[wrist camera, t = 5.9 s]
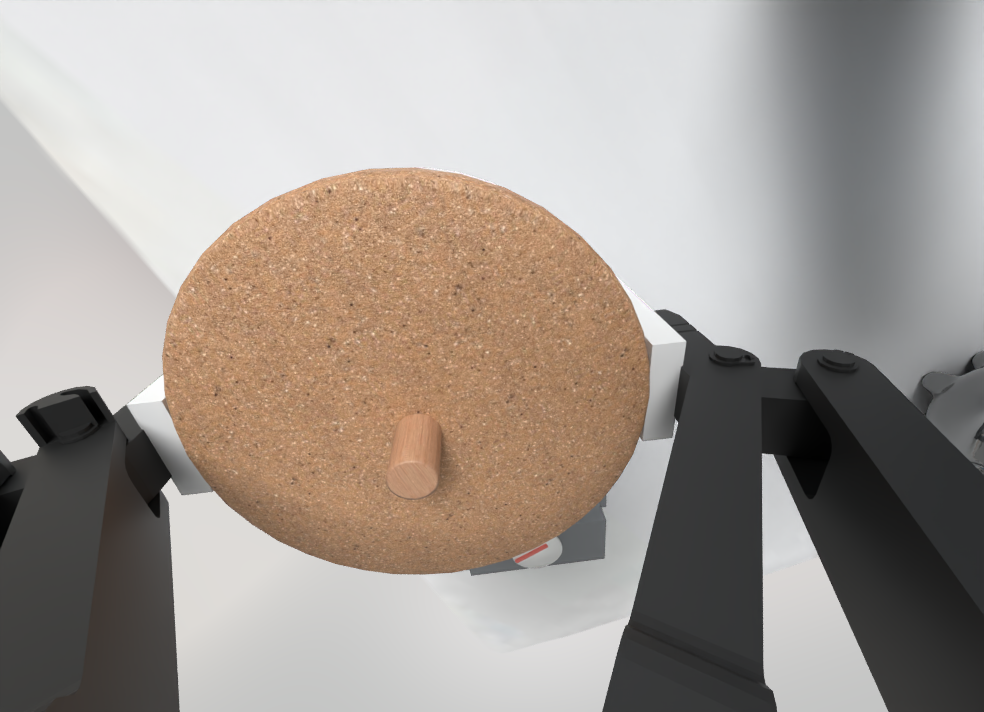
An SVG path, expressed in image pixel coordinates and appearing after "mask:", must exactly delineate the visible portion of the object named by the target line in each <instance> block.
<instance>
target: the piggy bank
mask: <svg viewBox="0 0 984 712" xmlns="http://www.w3.org/2000/svg"><path fill="white" fill-rule="evenodd" d="M972 365H973V367H974V368H975V370H973V371H970V372H968V373H966V374H964V375H961V376H955V375H951V374H947V373H942V372H931V373H929V374H927V375H926V376H925V377H924V378H923V379H922V385H923V387H924V388H926V389H927V390H928V391H930V392H931V393H932V395H933V399H932V401H931V403H930V405H929V407H928V409H927V413H926V415H925V417H926V418H927V419H928V420H929V421H930V422H931V423H932V424H933V425H934V426H935V427H936V428H937V429H938V430H939V431H940V432H941V433H942V434H943V435H944V436H945V437H946V438H947V439H948V440H949V441H950V442H951V443H952V444H953V445H954V446H955V447H956V448H957V449H958V450H959V451H960V452H961V453H962V454H963V455H964V456H965V457H966V458H967V459H968V460H969V461H970V462H971V463H972V464H973V465H974V466H975V467H976V468H977V469H978V470H979V471H980V472H981V473H982V474H983V475H984V351H981V352H979V353H977V354H976V355H975V356H974V357H973V359H972Z"/></svg>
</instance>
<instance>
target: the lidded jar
mask: <svg viewBox="0 0 984 712" xmlns="http://www.w3.org/2000/svg"><path fill="white" fill-rule="evenodd" d="M162 360H163V376H164V391H165V397H166V400H167V404H168V407H169V411H170V414H171V418H172V421H173V424H174V427H175V430H176V432H177V434H178V436H179V438H180V441H181V443H182V445H183V447H184V449H185V452H186V454H187V456H188V457H189V459H190V460H191V462H192V463H193V464H194V466H195V467H196V468H197V470H198V471H199V473H200V474H201V475H202V477H203V478H204V480H205V481H206V482H207V483H208V484H209V485H210V487H211V488H212V489H213V490H214V491H215V492H216V493H217V494H218V495H219V496H220V497H221V498H222V500H223V501H224V502H225V503H226V504H227V505H228V506H229V507H231V508H232V509H233V510H235V511H236V512H237V513H238V514H240V515H241V516H242V517H244V518H245V519H246V520H247V521H249V522H250V523H251V524H252V525H254V526H256V527H257V528H259V529H260V530H262V531H264V532H265V533H267V534H269V535H270V536H271V537H273V538H275V539H276V540H278V541H280V542H282V543H284V544H287V545H288V546H291V547H293V548H295V549H298V550H300V551H302V552H304V553H306V554H309V555H312V556H315V557H317V558H320V559H323V560H326V561H329V562H332V563H335V564H339V565H343V566H348V567H353V568H358V569H362V570H368V571H375V572H383V573H390V574H437V573H452V572H458V571H463V570H468V569H474V568H479V567H483V566H487V565H490V564H494V563H497V562H501V561H505V560H508V559H511V558H513V557H515V556H518V555H520V554H523V553H525V552H527V551H530V550H532V549H534V548H536V547H538V546H540V545H542V544H544V543H546V542H547V541H549V540H551V539H553V538H555V537H557V536H559V535H560V534H561V533H563V532H564V531H565V530H567V529H568V528H570V527H571V526H572V525H574V524H575V523H576V522H578V521H579V520H580V519H582V518H583V517H584V516H585V515H586V514H587V513H588V512H589V511H590V510H591V509H592V508H594V507H595V506H596V505H597V504H598V503H599V502H600V501H601V500H602V499H603V498H604V496H605V495H606V494H607V493H608V491H609V490H610V489H611V487H612V486H613V485H614V484H615V482H616V481H617V480H618V478H619V477H620V475H621V473H622V472H623V470H624V468H625V467H626V465H627V463H628V462H629V460H630V458H631V457H632V455H633V453H634V450H635V447H636V445H637V442H638V439H639V437H640V434H641V431H642V429H643V426H644V423H645V417H646V412H647V407H648V401H649V396H650V363H649V358H648V352H647V347H646V342H645V336H644V332H643V329H642V327H641V324H640V322H639V319H638V317H637V314H636V312H635V309H634V307H633V304H632V301H631V299H630V298H629V296H628V295H627V293H626V291H625V290H624V288H623V287H622V285H621V284H620V282H619V280H618V279H617V277H616V276H615V274H614V272H613V271H612V269H611V268H610V267H609V266H608V265H607V264H606V263H605V261H604V260H603V259H602V258H601V257H600V256H599V255H598V254H597V253H596V252H595V251H594V250H593V249H592V248H591V246H590V245H589V244H588V243H587V242H586V241H585V240H584V239H583V238H582V237H581V236H580V235H579V234H578V233H576V232H575V231H574V230H572V229H571V228H570V227H568V226H567V225H566V224H564V223H563V222H562V221H561V220H559V219H558V218H557V217H555V216H554V215H553V214H551V213H550V212H549V211H547V210H546V209H545V208H543V207H541V206H539V205H538V204H536V203H534V202H532V201H530V200H528V199H526V198H524V197H522V196H520V195H518V194H516V193H514V192H512V191H510V190H508V189H506V188H504V187H501V186H499V185H497V184H495V183H492V182H489V181H486V180H483V179H480V178H477V177H473V176H470V175H467V174H464V173H461V172H455V171H448V170H441V169H434V168H426V167H414V168H385V169H367V170H362V171H357V172H352V173H347V174H342V175H338V176H333V177H328V178H323V179H320V180H317V181H315V182H312V183H310V184H307V185H305V186H302V187H300V188H297V189H295V190H292V191H290V192H288V193H285V194H283V195H280V196H278V197H275V198H273V199H271V200H269V201H268V202H266V203H265V204H263V205H261V206H260V207H258V208H257V209H255V210H254V211H252V212H251V213H249V214H247V215H246V216H244V217H243V218H241V219H240V220H238V221H237V222H235V223H234V224H232V225H231V226H230V227H229V228H228V229H227V230H226V231H225V232H224V233H223V234H222V235H221V236H220V237H219V238H218V239H217V240H216V241H215V242H214V243H213V244H212V245H211V246H210V247H209V248H208V249H207V250H206V251H205V252H204V253H203V254H202V255H201V257H200V258H199V260H198V261H197V263H196V264H195V266H194V267H193V269H192V270H191V272H190V273H189V275H188V276H187V278H186V279H185V281H184V282H183V284H182V286H181V287H180V290H179V293H178V295H177V298H176V301H175V303H174V306H173V308H172V311H171V314H170V316H169V319H168V321H167V328H166V335H165V342H164V349H163V355H162Z"/></svg>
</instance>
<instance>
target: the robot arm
mask: <svg viewBox="0 0 984 712" xmlns="http://www.w3.org/2000/svg"><path fill="white" fill-rule="evenodd" d="M615 276H616V275H615ZM616 277H617V276H616ZM617 279H618V280H619V282H620V284H621V285H622V287H623V288H624V290H625V291H626V293H627V295H628V296H629V298H630V299H631V301H632V304H633V307H634V309H635V312H636V314H637V317H638V319H639V322H640V324H641V327H642V329H643V332H644V336H645V342H646V347H647V352H648V358H649V363H650V396H649V401H648V407H647V412H646V417H645V423H644V426H643V429H642V431H641V434H640V437H641V439H642V441H648V440H657V439H666V438H672V437H673V430H674V423H675V419H676V420H677V421H678V427H677V431H676V435H675V439H674V443H673V447H672V451H671V455H670V459H669V464H668V468H667V472H666V476H665V480H664V484H663V488H662V492H661V496H660V500H659V504H658V508H657V512H656V516H655V520H654V524H653V528H652V532H651V536H650V540H649V544H648V548H647V552H646V557H645V561H644V565H643V569H642V573H641V577H640V581H639V585H638V589H637V593H636V597H635V601H634V605H633V609H632V613H631V617H630V620H629V623H628V625H626V626H625V629H624V632H623V635H622V638H621V641H620V645H619V649H618V652H617V656H616V660H615V664H614V668H613V672H612V676H611V680H610V684H609V688H608V691H607V696H606V699H605V703H604V707H603V711H602V712H777V707H776V702H775V698H774V694H773V691H772V690H771V689H770V688H769V687H768V686H766V684H765V679H764V670H763V566H762V453H765V454H774V457H775V459H776V461H777V464H778V466H779V468H780V470H781V473H782V475H783V477H784V479H785V481H786V484H787V486H788V488H789V490H790V493H791V495H792V497H793V499H794V502H795V504H796V506H797V508H798V511H799V513H800V515H801V517H802V519H803V522H804V524H805V526H806V528H807V531H808V533H809V535H810V537H811V540H812V542H813V544H814V546H815V548H816V551H817V553H818V555H819V557H820V559H821V562H822V564H823V566H824V569H825V571H826V573H827V575H828V577H829V580H830V582H831V584H832V586H833V589H834V591H835V593H836V595H837V598H838V600H839V602H840V604H841V607H842V609H843V611H844V613H845V615H846V618H847V620H848V622H849V624H850V627H851V629H852V631H853V633H854V636H855V638H856V640H857V642H858V644H859V647H860V649H861V651H862V653H863V656H864V658H865V660H866V662H867V665H868V667H869V669H870V671H871V673H872V676H873V678H874V680H875V682H876V685H877V687H878V689H879V691H880V693H881V696H882V698H883V700H884V702H885V705H886V707H887V709H888V711H889V712H984V475H983V474H982V473H981V472H980V471H979V470H978V469H977V468H976V467H975V466H974V465H973V464H972V463H971V462H970V461H969V460H968V459H967V458H966V457H965V456H964V455H963V454H962V453H961V452H960V451H959V450H958V449H957V448H956V447H955V446H954V445H953V444H952V443H951V442H950V441H949V440H948V439H947V438H946V437H945V436H944V435H943V434H942V433H941V432H940V431H939V430H938V429H937V428H936V427H935V426H934V425H933V424H932V423H931V422H930V421H929V420H928V419H927V418H926V417H925V416H924V415H923V414H922V413H921V412H920V411H919V410H918V409H917V408H916V407H915V406H914V405H913V404H912V403H911V402H910V401H909V400H908V399H907V398H906V397H905V396H904V395H903V394H902V393H901V392H900V391H899V390H898V389H897V388H896V387H895V386H894V385H893V384H892V383H891V382H890V381H889V380H888V379H887V378H886V377H885V376H884V375H883V374H882V373H881V372H880V371H879V370H878V369H877V368H876V367H875V366H874V365H873V364H871V363H870V362H868V361H867V360H865V359H863V358H860V357H858V356H855V355H854V354H852V353H849V352H843V351H840V350H811V351H808V352H805V353H803V354H802V355H801V356H800V358H799V362H798V365H797V369H785V368H768V367H761V363H760V361H759V358H757V357H756V356H755V355H753V354H752V353H750V352H748V351H745V350H743V349H740V348H735V347H730V346H716V345H714V344H713V343H712V342H711V341H710V340H708V339H707V338H706V337H705V336H704V335H703V334H701V333H700V332H699V331H696V329H695V328H694V327H693V326H692V325H689V323H688V322H687V321H686V320H685V319H684V318H682V317H681V316H680V315H678V314H675V313H673V312H670V311H668V310H656V311H653V310H652V309H651V308H650V307H649V306H648V305H647V304H646V303H645V302H644V301H643V300H642V299H641V298H640V297H639V296H637V295H636V294H635V293H634V292H633V291H632V290H631V289H630V288H629V287H628V286H627V285H626V284H625V283H624V282H623V281H621V280H620V279H619V278H618V277H617ZM16 417H17V419H18V420H19V421H20V422H21V424H22V425H23V426H24V428H25V429H26V430H27V431H28V433H29V434H30V435H31V437H32V438H33V439H34V440H35V442H36V443H37V444H38V446H39V447H40V448H39V450H38V453H37V455H35V456H31V457H28V458H24V459H20V460H17V461H13V462H10V461H9V460H8V459H7V458H6V456H5V455H4V454H3V453H2V452H1V450H0V712H180V710H179V691H178V673H177V653H176V635H175V616H174V597H173V578H172V560H171V542H170V523H169V504H168V501H167V499H166V497H165V496H164V494H163V493H162V491H161V489H162V487H163V486H164V485H165V484H166V483H167V482H168V480H169V479H170V478H172V480H173V482H174V483H175V485H176V486H177V488H178V490H179V491H180V493H181V495H189V494H197V493H206V492H213V491H214V490H213V489H212V488H211V487H210V485H209V484H208V483H207V482H206V481H205V480H204V478H203V477H202V475H201V474H200V473H199V471H198V470H197V468H196V467H195V466H194V464H193V463H192V462H191V460H190V459H189V457H188V456H187V454H186V452H185V449H184V447H183V445H182V443H181V441H180V438H179V436H178V434H177V432H176V430H175V427H174V424H173V421H172V418H171V414H170V411H169V407H168V404H167V400H166V397H165V391H164V376H163V375H161V376H160V377H159V378H158V379H156V380H155V381H154V382H153V383H152V384H150V386H148V387H147V388H146V389H144V390H143V391H142V392H141V393H140V394H139V395H138V396H136V397H135V398H133V399H132V400H131V401H130V402H129V403H127V404H126V405H125V406H124V407H123V408H121V409H120V410H119V411H118V412H117V413H115V414H114V415H112V413H111V412H110V410H109V409H108V407H107V406H106V404H105V403H104V401H103V400H102V398H101V396H100V395H99V393H98V392H97V390H96V389H95V387H90V386H85V387H75V388H71V389H67V390H63V391H60V392H57V393H54V394H51V395H49V396H46V397H44V398H42V399H40V400H37V401H35V402H33V403H31V404H30V405H28V406H27V407H25V408H24V409H22V410H21V411H20V412H19V413H18V414H17V415H16Z"/></svg>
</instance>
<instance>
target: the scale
mask: <svg viewBox="0 0 984 712" xmlns="http://www.w3.org/2000/svg"><path fill="white" fill-rule="evenodd" d="M601 507H606V495H605V496H604V498H603V499H602V500H601V501H600V502H599V503H598V504H597V505H596V506H595V507H594V508H592V509H591V510H590V511H589V512H588V513H587V514H586V515H585V516H584V517H583V518H582V519H580V520H579V521H578V522H576V523H575V524H574V525H572V526H571V527H570V528H568V529H567V530H565V531H564V532H563V533H561V534H560V535H559V536H557V537H555V538H553V539H551V540H549V541H547V542H546V543H544V544H542V545H540V546H538V547H536V548H534V549H532V550H530V551H527V552H525V553H523V554H520V555H518V556H515V557H513V558H511V559H508V560H505V561H501V562H497V563H494V564H490V565H487V566H483V567H479V568H474V569H470V573H471V576H472V575H480V574H488V573H495V572H503V571H511V570H519V569H526V568H541V567H545V566H550V565H557V564H565V563H573V562H580V561H588V560H596V559H604V556H605V530H606V519H605V516H604V514H603V511H602V508H601Z"/></svg>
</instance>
